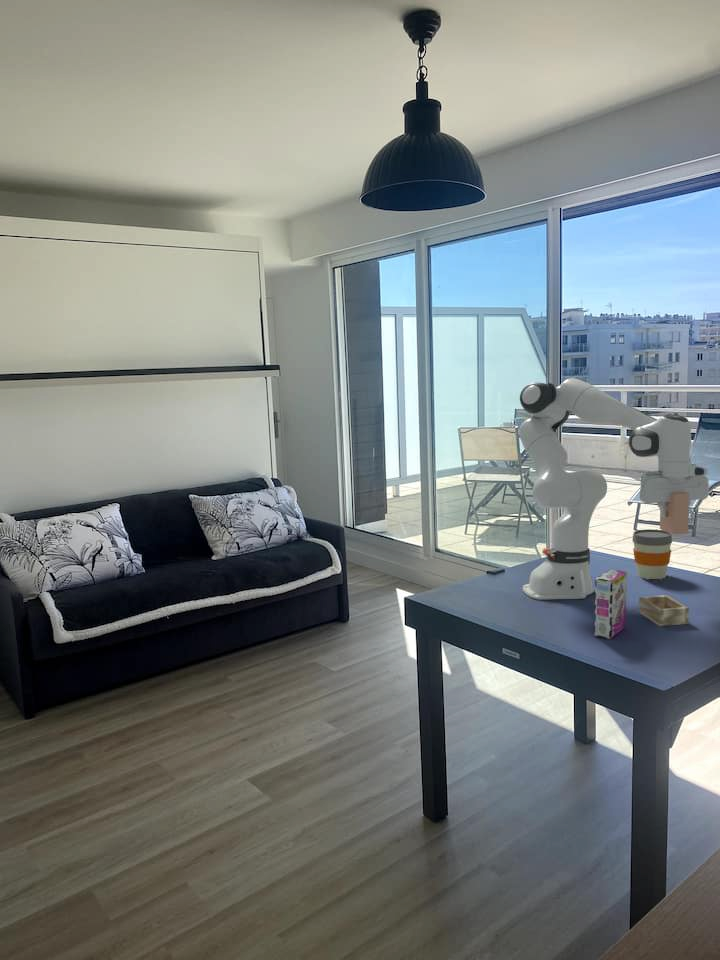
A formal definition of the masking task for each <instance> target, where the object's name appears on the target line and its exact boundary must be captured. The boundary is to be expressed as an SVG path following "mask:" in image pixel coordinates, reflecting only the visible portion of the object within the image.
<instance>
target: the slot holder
mask: <svg viewBox="0 0 720 960" xmlns="http://www.w3.org/2000/svg"><path fill="white" fill-rule="evenodd" d="M638 599H639V601H638V607H639V608H638V612H639V613H640V614H641V615H643V617H646V618H647V619H649V620H650V621H652V622H653V623H655V624H656V625H658V626H659V627H664V626H667V627H668V626H676V625H677V626H678V625H687V624H689V623H690V622H689V621H690V620H689V619H690V618H689V616H690V615H689V613H690V608H689V607H688V606H686V605H684V604H683V603H681V602H679V601H677V600H676V599H674V598H673V597H671V596H670V595H667V594H663V595H652V596H651V595H650V596H640V597H639V598H638Z"/></svg>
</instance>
